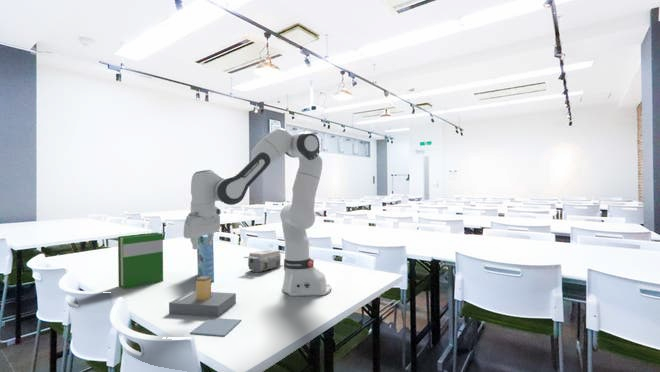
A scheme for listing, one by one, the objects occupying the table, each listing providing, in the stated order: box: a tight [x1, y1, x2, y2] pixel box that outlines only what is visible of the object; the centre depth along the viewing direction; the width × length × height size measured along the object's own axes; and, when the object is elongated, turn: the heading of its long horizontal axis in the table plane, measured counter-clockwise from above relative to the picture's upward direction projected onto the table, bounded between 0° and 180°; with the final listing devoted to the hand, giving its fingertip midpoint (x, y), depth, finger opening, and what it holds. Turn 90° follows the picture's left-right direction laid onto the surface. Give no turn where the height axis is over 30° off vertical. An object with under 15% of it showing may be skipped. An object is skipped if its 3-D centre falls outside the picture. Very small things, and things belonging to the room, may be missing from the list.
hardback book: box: [117, 232, 164, 290], centre depth 161 cm, size 18×7×24 cm, turn 139°
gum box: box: [196, 235, 215, 283], centre depth 170 cm, size 19×5×23 cm, turn 31°
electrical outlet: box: [243, 249, 285, 273], centre depth 188 cm, size 12×28×10 cm, turn 155°
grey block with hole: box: [168, 290, 237, 318], centre depth 128 cm, size 20×14×4 cm
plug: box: [195, 276, 212, 300], centre depth 128 cm, size 4×4×12 cm
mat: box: [189, 317, 242, 337], centre depth 110 cm, size 12×12×1 cm
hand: (202, 246), depth 128 cm, fingers open, 8 cm apart
